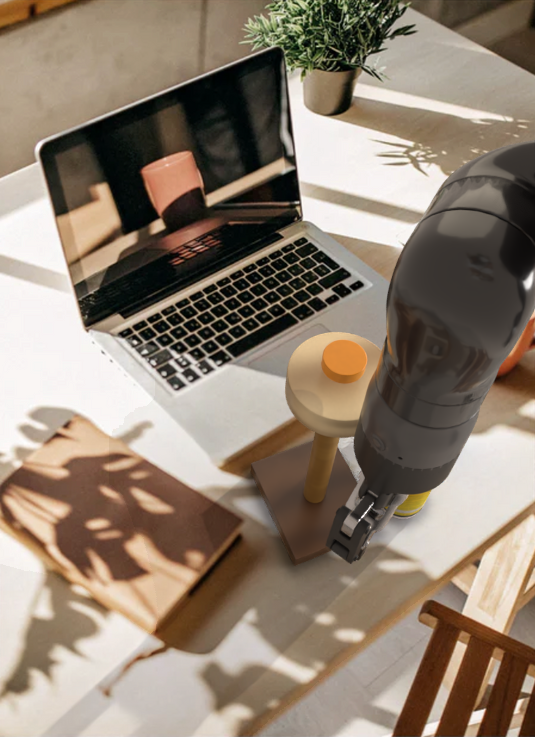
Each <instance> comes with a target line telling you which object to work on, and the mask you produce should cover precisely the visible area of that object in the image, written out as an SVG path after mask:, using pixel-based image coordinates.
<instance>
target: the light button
mask: <svg viewBox="0 0 535 737" xmlns="http://www.w3.org/2000/svg"><path fill="white" fill-rule="evenodd" d="M366 364H367V355H366V353H365V351H364V349H363V348H362V347H361V346H360V345H358V344H357V343H355V342H353V341H350V340H336V341H333V342H331V343H330V344H328V345H327V346H326V348H325V349H324V351H323V355H322V361H321V367H322V370H323V372H324V374H325V375H326V376H327V377H328V378H329V379H331V380H332V381H335V382H337V383H342V384H348V383H353V382H355V381H357V380H359V379H360V378H361V377H362V375H363V374H364V371H365V368H366Z"/></svg>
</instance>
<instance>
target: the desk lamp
mask: <svg viewBox="0 0 535 737" xmlns="http://www.w3.org/2000/svg"><path fill="white" fill-rule="evenodd" d="M336 340H350V341H353V342H355V343H357V344H358V345H360V346H361V347H362V348H363V349H364V351H365V353H366V355H367V364H366V368H365V371H364V374H363V375H362V377H361V378H360V379H359V380H357V381H355V382H353V383H348V384H342V383H337V382H335V381H332V380H331V379H329V378H328V377H327V376H326V375H325V374H324V372H323V370H322V367H321V361H322V355H323V351H324V349H325V348H326V346H327V345H328V344H330V343H331V342H333V341H336ZM381 351H382V348H381V349H380V347H378V346H377V344H374V342H372V341H370V340H368V339H367V338H365V337H362V336H360V335H358V334H354V333H349V332H344V331H343V332H341V331H332V332H330V331H329V332H324V333H320V334H316V335H314V336H312V337H309V338H308V339H306V340H304V341H303V342H302V343H300V344H299V346H297V347H296V349H294V351H293V352H292V354H291V355H290V358H289V360H288V362H287V367H286V375H285V385H284V395H285V400H286V405H287V406H288V409H289V410H290V412H291V414H292V415H293V416H294V417H295V419H296V420H297V421H298V422H299V423H300V424H301V425H303V426H304V427H305V428H307V429H308V430H310V431H312V432H313V433H314V435H313V440H310V441H308V442H305V443H303V444H300V445H297V446H294V447H291V448H288V449H286V450H284V451H281V452H280V451H279V452H278V453H274V454H273V455H270V456H267V457H264V458H261V459H259V460H256V461H254V462H251V463H250V474H251V476H252V478H253V480H254V482H255V484H256V487H257V489H258V491H259V493H260V495H261V498H262V499H263V501H264V505H265V506H266V509H267V510H268V513H269V515H270V518H271V519H272V521H273V523H274V525H275V528H276V529H277V532H278V534H279V536H280V538H281V541H282V543H283V545H284V548H285V549H286V552H287V553H288V556H289V558H290V560H291V561H292V564H293V566H294V567H296V566H298V565H301V564H304V563H306V562H309V561H310V560H313V559H316V558H318V557H320V556H323V555H325V554H327V553H330V552H333V551H332V550H331V549H329V548H328V547H327V546H325V545H326V542H327V541H326V540H327V539H328V536H329V533H330V530H331V527H332V524H333V521H334V518H335V515H336V511H337V510H338V508H341V507H342V506H343V505H345V506H346V503H347V501H348V499H349V497H350V496H351V494H352V492H353V491H354V489H355V487H356V485H357V484H358V481H357V479H356V477H355V476H354V474H353V472H352V470H351V468H350V467H349V464H348V463H347V461H346V459H345V457H344V455H343V454H342V452H341V450H340V448H339V447H338V446H339V443H340V439H348V438H354V435H355V431H356V428H357V424H358V420H359V417H360V413H361V409H362V406H363V402H364V398H365V395H366V391H367V388H368V385H369V382H370V380H371V378H372V376H373V374H374V372H375V370H376V368H377V366H378V362H379V358H380V355H381ZM378 532H379V531H375V533H374V534H376V533H378Z"/></svg>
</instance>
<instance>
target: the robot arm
mask: <svg viewBox="0 0 535 737" xmlns="http://www.w3.org/2000/svg"><path fill="white" fill-rule="evenodd" d="M385 303H386V304H385V318H386V319H385V321H386V322H385V329H386V335H385V338H384V342H383V345H382V348H381V355H380V358H379V362H378V366H377V368H376V370H375V372H374V374H373V376H372V378H371V380H370V382H369V385H368V388H367V391H366V395H365V398H364V402H363V406H362V409H361V413H360V417H359V420H358V424H357V428H356V431H355V435H354V437H353V442H352V443H353V452H354V457H355V460H356V462H357V464H358V467H359V468H360V472H359V474H358V481H357V483H358V484H357V485H356V487H355V489H354V491H353V492H352V494H351V496H350V497H349V499H348V501H347V503H346V506H345V505H343V506H342V507H341V508H338V510H337V511H336V515H335V518H334V521H333V524H332V527H331V530H330V533H329V536H328V539H327V540H326V541H327V542H326V545H325V546H327V547H328V548H329V549H331V550H332V551H331V552H333V553H335V555H337V556H338V557H340V558H341V559H342V560H344V561H346V562H347V563H348V564H349V565H352V564H353V563H354V562H357V561H360V560H361V559H362V557H363V556H364V554H365V552H366V550H367V548H368V547H369V545H370V544H371V539H372V538H373V536H374V534H376V533H375V531H378V532H380V531H382V530H384V528H386V526H387V525H388V524H389V522H390V520H391V519H392V518H393V517H392V515H393V514H394V512H395V510H396V509H397V507H398V506H399V505H401V504H402V503H403V502H404V501H405V500H406V499H407V497H408V496H409V495H414V494H421V493H425V492H428V491H430V490H431V491H433V490H434V489H436V488H438V487H440V485H442V484H443V483H445V480H446V479H447V478H448V477H449V475H450V474H451V473H452V470H453V468H454V466H455V465H456V463H457V460H458V459H459V457H460V455H461V453H462V452H463V449H464V448H465V445H466V444H467V442H468V440H469V438H470V436H471V435H472V433H473V431H474V430H475V427H476V424H477V422H478V418H479V415H480V412H481V411H480V410H481V407H482V406H483V403H484V401H485V400H486V398H487V395H488V394H489V391H490V390H491V388H492V386H493V384H494V383H495V380H496V378H497V375H498V373H499V370H500V368H501V366H502V365H503V364H504V362H505V361H506V359H507V358H508V357H509V355H510V354H511V353H512V351H513V350H514V348H515V346H516V344H517V343H518V341H519V340H520V338H521V336H522V335H523V333H524V331H525V330H526V328H527V325H528V324H529V322H530V320H531V318H532V316H533V314H534V312H535V139H532V140H525V141H520V142H515V143H514V142H513V143H510V144H507V145H503V146H500V147H497V148H494V149H492V150H489V151H487V152H484V153H482V154H480V155H478V156H476V157H474V158H472V159H470V160H469V161H467V162H465V163H464V164H462V165H461V166H460V167H458V168H457V169H455V170H454V171H453V172H451V173H450V175H449V176H448V177H447V178H446V179H445V180H444V181H443V182H442V184H441V185H440V187H439V188H438V190H437V191H436V193H435V194H434V196H433V198H432V200H431V201H430V203H429V205H428V207H427V208H426V209H425V211H424V213H423V214H422V216H421V218H420V219H419V221H418V223H417V224H416V225H415V227H414V229H413V231H412V232H411V233H410V236H409V237H408V239H407V240H406V242H405V243H404V246H403V248H402V250H401V251H400V254H399V256H398V257H397V261H396V263H395V266H394V268H393V272H392V274H391V278H390V281H389V285H388V290H387V295H386V302H385ZM387 506H388V508H387V509H386V511H385V512H384V513H383V514H380V513H379V512H378V511H380V510H382V508H385V507H387Z"/></svg>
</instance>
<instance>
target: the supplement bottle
mask: <svg viewBox="0 0 535 737" xmlns="http://www.w3.org/2000/svg"><path fill="white" fill-rule="evenodd" d="M431 492H432V490H430V491H428V492H425V493H421V494H414V495H409V496H408V497H407V499H406V500H405V501H404V502H403V503H402V504H401V505H399V506H398V507H397V509H396V510H395V512H394V514H393V515H392V517H391V518H395V519H399V520H405V519H411V518H413V517H415V516H416V515H418V514H419V513H420V512H421V511H422V509H423V508H424V506H425V504H426V502H427V500H428V498H429V496H430V495H431ZM387 508H388V506H387V507H385V508H382V509H381V510H382V511H383V512H384V513H385V511H386V509H387Z"/></svg>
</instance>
